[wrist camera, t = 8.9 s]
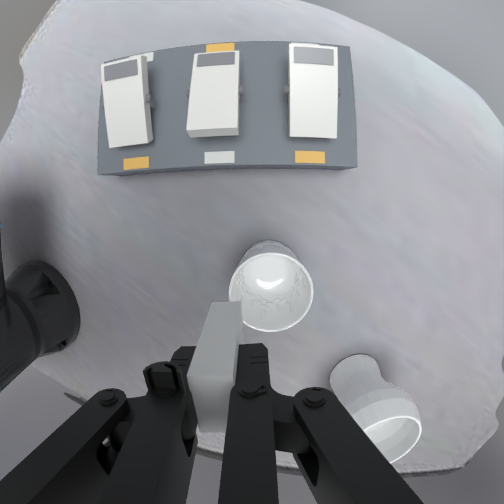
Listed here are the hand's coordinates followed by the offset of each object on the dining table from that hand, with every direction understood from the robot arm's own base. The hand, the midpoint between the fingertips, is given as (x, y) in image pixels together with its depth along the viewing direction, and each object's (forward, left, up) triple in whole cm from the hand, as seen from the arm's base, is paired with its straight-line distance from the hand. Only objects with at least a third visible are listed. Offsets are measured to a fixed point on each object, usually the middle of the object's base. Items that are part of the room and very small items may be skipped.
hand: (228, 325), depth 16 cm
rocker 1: (-11, +16, -13) cm, 24 cm away
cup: (+16, -20, -22) cm, 34 cm away
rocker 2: (-2, +16, -13) cm, 21 cm away
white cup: (+3, -3, -22) cm, 23 cm away
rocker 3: (+7, +16, -13) cm, 22 cm away
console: (-2, +16, -22) cm, 28 cm away
